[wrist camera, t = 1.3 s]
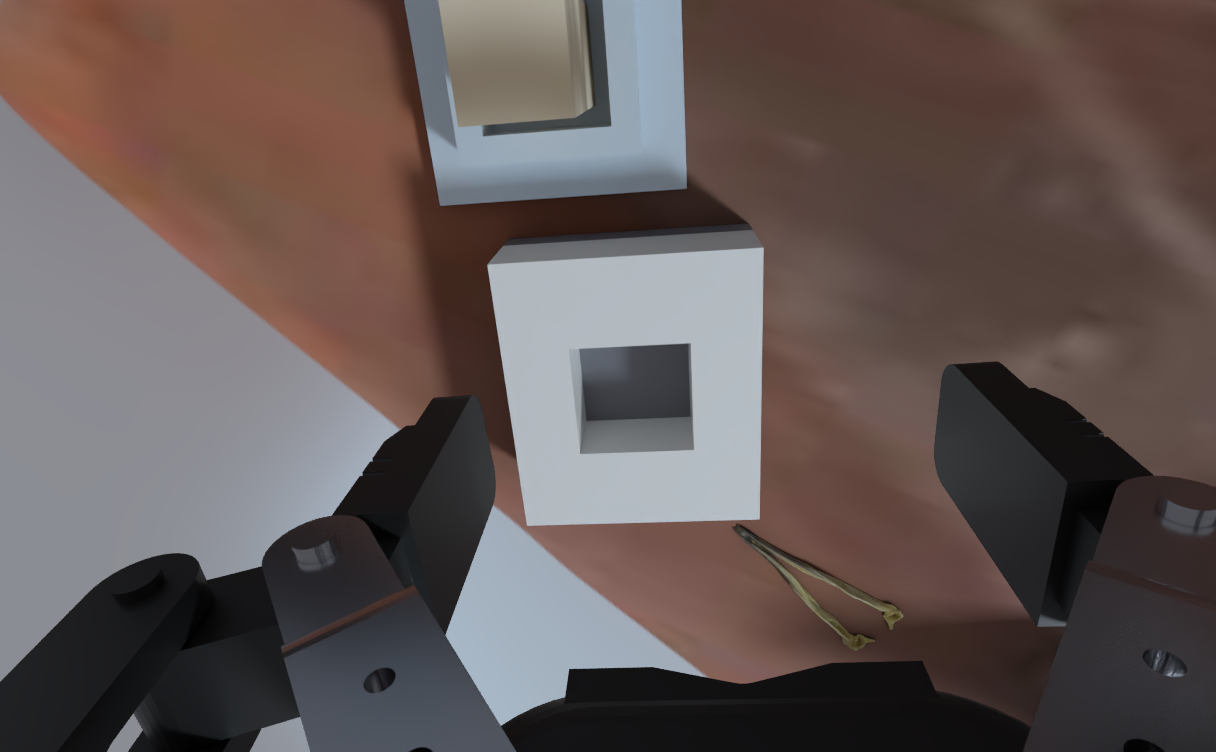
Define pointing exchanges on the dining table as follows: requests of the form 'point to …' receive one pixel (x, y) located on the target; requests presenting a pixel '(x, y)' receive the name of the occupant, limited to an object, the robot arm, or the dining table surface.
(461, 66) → the beech peg
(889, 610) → the tan bony v-shaped piece
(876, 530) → the dining table surface
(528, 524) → the box
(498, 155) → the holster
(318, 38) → the dining table surface
